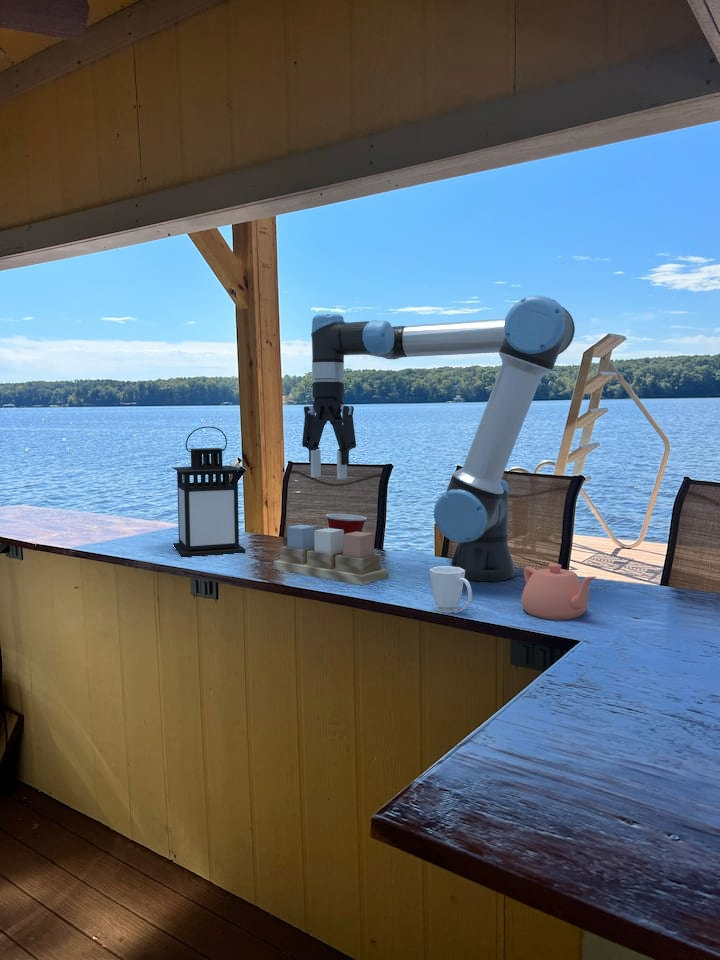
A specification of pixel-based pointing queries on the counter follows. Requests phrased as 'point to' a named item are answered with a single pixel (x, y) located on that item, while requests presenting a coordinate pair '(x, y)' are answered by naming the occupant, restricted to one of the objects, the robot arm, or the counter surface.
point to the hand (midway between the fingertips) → (328, 477)
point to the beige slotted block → (331, 565)
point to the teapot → (555, 593)
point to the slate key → (301, 536)
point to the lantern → (207, 505)
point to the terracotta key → (358, 544)
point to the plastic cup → (346, 522)
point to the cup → (449, 588)
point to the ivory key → (328, 540)
